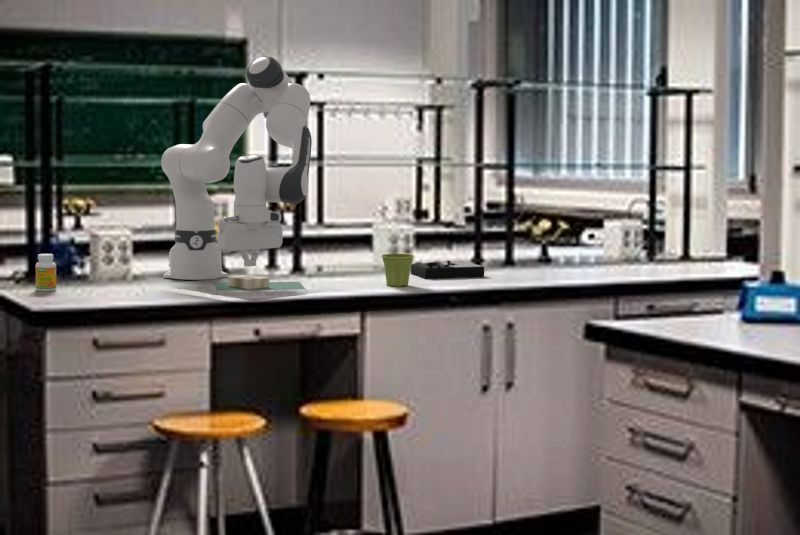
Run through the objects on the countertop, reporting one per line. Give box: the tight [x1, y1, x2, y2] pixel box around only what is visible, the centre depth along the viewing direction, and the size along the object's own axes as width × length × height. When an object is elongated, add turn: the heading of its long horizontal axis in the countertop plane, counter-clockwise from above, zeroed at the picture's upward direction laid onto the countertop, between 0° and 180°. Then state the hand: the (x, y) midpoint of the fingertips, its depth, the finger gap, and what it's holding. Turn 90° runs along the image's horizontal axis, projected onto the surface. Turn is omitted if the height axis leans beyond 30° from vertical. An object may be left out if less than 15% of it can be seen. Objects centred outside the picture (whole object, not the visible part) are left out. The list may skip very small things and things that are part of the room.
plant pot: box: [380, 253, 415, 288], centre depth 370 cm, size 9×9×9 cm
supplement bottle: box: [35, 253, 57, 292], centre depth 351 cm, size 5×5×10 cm
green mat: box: [213, 281, 306, 296], centre depth 357 cm, size 16×24×1 cm, turn 101°
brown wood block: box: [227, 274, 270, 291], centre depth 354 cm, size 9×3×7 cm
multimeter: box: [410, 260, 485, 280], centre depth 395 cm, size 13×19×5 cm
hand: (250, 266), depth 354 cm, fingers closed
